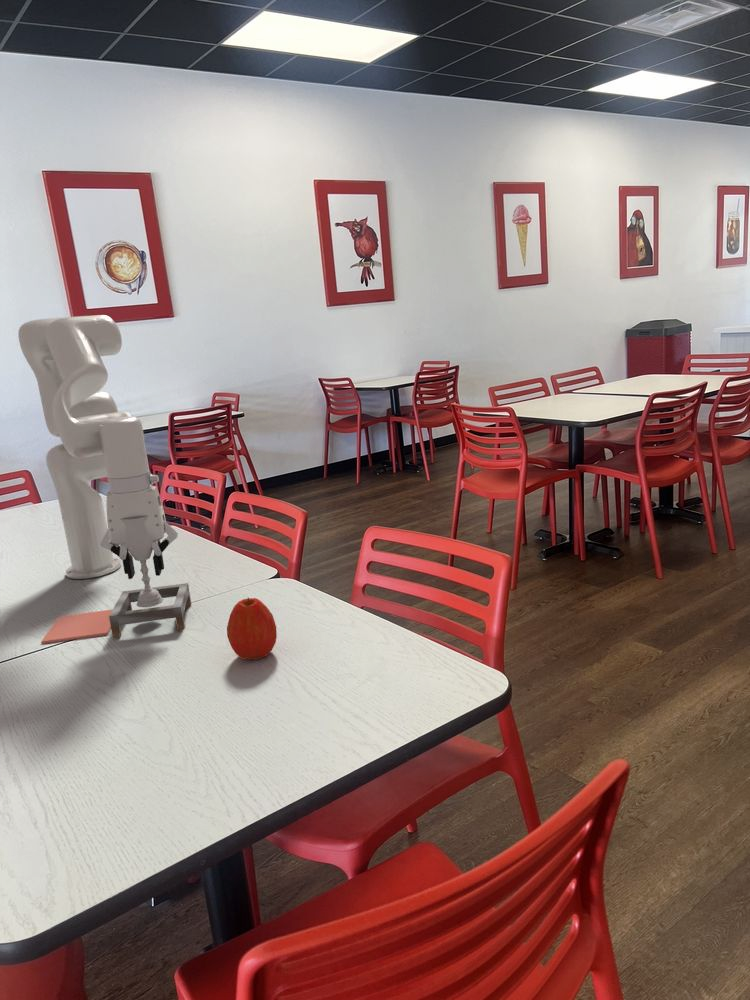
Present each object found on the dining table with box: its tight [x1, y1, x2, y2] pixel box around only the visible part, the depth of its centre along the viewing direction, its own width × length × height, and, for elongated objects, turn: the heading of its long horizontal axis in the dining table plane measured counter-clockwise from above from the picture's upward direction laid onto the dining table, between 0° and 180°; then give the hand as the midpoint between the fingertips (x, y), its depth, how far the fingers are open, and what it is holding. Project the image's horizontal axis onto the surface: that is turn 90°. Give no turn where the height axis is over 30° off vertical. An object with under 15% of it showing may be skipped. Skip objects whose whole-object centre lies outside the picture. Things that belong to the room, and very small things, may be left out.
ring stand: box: [109, 582, 192, 640], centre depth 139 cm, size 13×13×5 cm
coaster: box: [40, 608, 113, 645], centre depth 139 cm, size 12×12×1 cm
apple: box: [226, 597, 277, 660], centre depth 119 cm, size 8×8×11 cm
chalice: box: [120, 516, 164, 608], centre depth 137 cm, size 7×7×18 cm
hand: (145, 574), depth 137 cm, fingers closed on chalice, 4 cm apart
